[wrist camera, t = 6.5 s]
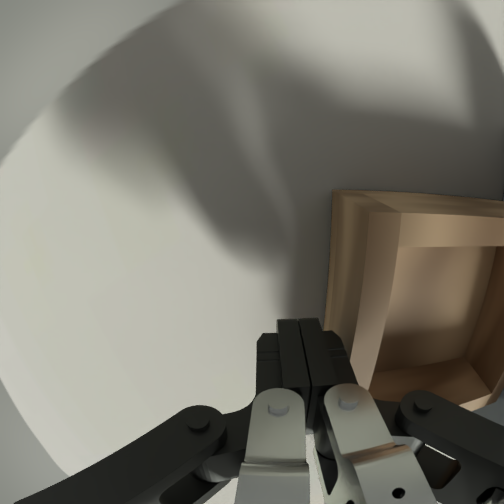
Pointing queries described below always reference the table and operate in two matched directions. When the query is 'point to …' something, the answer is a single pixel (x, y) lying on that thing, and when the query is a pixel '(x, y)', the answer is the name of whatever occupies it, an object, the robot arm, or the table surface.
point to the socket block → (419, 293)
